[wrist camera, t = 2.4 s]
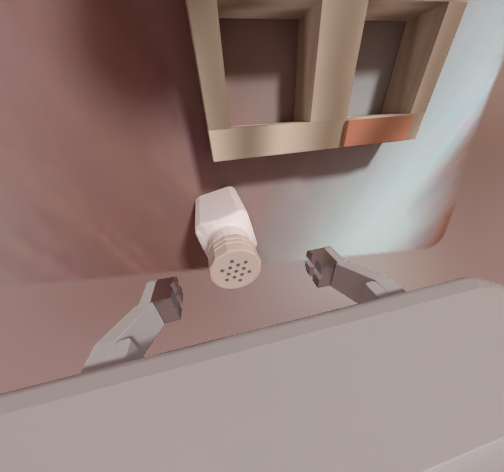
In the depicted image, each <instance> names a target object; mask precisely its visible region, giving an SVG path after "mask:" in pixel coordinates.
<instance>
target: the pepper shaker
mask: <svg viewBox="0 0 504 472" xmlns="http://www.w3.org/2000/svg"><path fill="white" fill-rule="evenodd" d="M195 234H196V236H197V238H198V240H199V242H200V244H201V246H202V248H203V250H204V252H205V253H206V255H207V257H208V263H209V273H210V278H211V281H213V282H214V283H215V284H216V285H217V286H218V287H221V288H226V289H236V288H241V287H244V286H246V285H248V284H249V283H251V282H253V281H254V280H255V279H256V277H257V275H258V274H259V273H260V270H261V260H260V258H259V256H258V254H257V251H256V249H255V248H256V246H257V242H256V238H255V235H254V231H253V228H252V225H251V222H250V219H249V216H248V213H247V211H246V209H245V208H244V206H243V204H242V202H241V200H240V198H239V196H238V194H237V192H236V190H235V189H234V188H233V187H225V188H222V189H219V190H216V191H213V192H211V193H208V194H205V195H202V196H199V197H198V198H197V199H196V205H195Z"/></svg>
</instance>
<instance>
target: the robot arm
mask: <svg viewBox="0 0 504 472" xmlns="http://www.w3.org/2000/svg"><path fill="white" fill-rule="evenodd" d="M306 256H307V257H308V259H307V260H306V264H305V266H306V270H307V272H308V274H309V275H310V276H312V277H313V281H314V283H315V284H316V286H317V287H318V288H320V287H325V286H330V285H331V287H333V288H335V289H336V290H338V291H339V292H341V293H342V294H344V295H346V296H347V297H349V298H350V299H352V300H353V301H355V302H357V303H358V304H355V305H351V306H348V307H344V308H340V309H335V310H332V311H328V312H324V313H320V314H316V315H312V316H308V317H304V318H300V319H296V320H292V321H288V322H284V323H280V324H276V325H272V326H268V327H264V328H260V329H256V330H252V331H248V332H244V333H240V334H236V335H232V336H229V337H224V338H220V339H216V340H212V341H208V342H204V343H200V344H196V345H192V346H188V347H184V348H180V349H176V350H172V351H168V352H164V353H160V354H156V355H152V356H148V357H144V356H143V355H144V354H145V352H146V351H147V349H148V348H149V346H150V345H151V344H152V342H153V341H154V339H155V338H156V336H157V335H158V333H159V332H160V330H161V329H162V328H163V326H164V325H165V323H167V322H171V321H175V320H179V319H181V310H182V309H181V306H180V305H181V304H182V301H183V293H182V289H181V287H180V286H179V285H178V279H177V277H170V278H164V279H158V280H154V281H148V283H146V286H145V289H144V292H143V295H142V298H141V300H140V303H139V305H137V306H135V307H134V308H133V309H132V310H131V311H130V312H129V313H128V314H127V315H126V316H125V317H123V318H122V319H121V320H120V321H119V322H118V323H117V324H116V325H115V326H114V327H113V328H112V329H111V330H110V331H109V332H108V333H107V334H106V335H104V336H103V337H102V338H101V339H100V340H99V341H98V342H97V343H96V344H95V345H94V347H93V349H92V351H91V353H90V355H89V357H88V359H87V361H86V363H85V365H84V367H83V369H82V371H81V373H80V374H77V375H73V376H69V377H65V378H61V379H57V380H53V381H49V382H45V383H41V384H37V385H33V386H29V387H25V388H21V389H17V390H13V391H9V392H5V393H1V394H0V472H504V286H503V285H500V284H497V283H493V282H490V281H486V280H483V279H479V278H475V277H464V278H459V279H455V280H451V281H447V282H443V283H439V284H435V285H431V286H427V287H423V288H419V289H415V290H411V291H408V292H406V291H405V290H404V289H403V288H401V287H400V286H399V285H398V284H397V283H395V282H394V281H393V280H392V279H391V278H390V277H388V276H385V275H383V274H380V273H378V272H375V271H372V270H370V269H367V268H365V267H362V266H360V265H357V264H354V263H352V262H349V261H345V260H344V259H343V258H342V257H341V256H340V255H339V254H338V253H337V252H336V251H335V250H334V249H333V248H332V247H330V246H328V247H323V248H319V249H314V250H309V251H307V254H306Z"/></svg>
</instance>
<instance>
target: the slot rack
mask: <svg viewBox="0 0 504 472" xmlns="http://www.w3.org/2000/svg"><path fill="white" fill-rule="evenodd" d="M185 3H186V8H187V14H188V20H189V26H190V32H191V38H192V44H193V50H194V56H195V61H196V67H197V73H198V79H199V85H200V91H201V97H202V103H203V108H204V114H205V120H206V126H207V132H208V138H209V144H210V150H211V155H212V158H213V161H214V162H218V161H227V160H235V159H244V158H253V157H262V156H270V155H279V154H288V153H297V152H305V151H314V150H323V149H332V148H340V147H349V146H358V145H367V144H375V143H384V142H393V141H402V140H410V139H415V137H416V134H417V132H418V129H419V127H420V124H421V121H422V119H423V116H424V114H425V111H426V109H427V106H428V103H429V101H430V98H431V96H432V93H433V90H434V88H435V85H436V83H437V80H438V78H439V75H440V72H441V70H442V67H443V65H444V62H445V59H446V57H447V54H448V52H449V49H450V47H451V44H452V41H453V39H454V36H455V34H456V31H457V28H458V26H459V23H460V21H461V18H462V16H463V13H464V10H465V8H466V5H467V3H468V0H185ZM219 18H235V19H299V29H298V47H297V65H296V83H295V100H294V118H293V121H289V122H277V123H265V124H253V125H241V126H230V119H229V109H228V100H227V91H226V82H225V72H224V63H223V54H222V45H221V35H220V26H219ZM365 21H406V25H405V28H404V32H403V36H402V39H401V43H400V47H399V50H398V54H397V57H396V61H395V65H394V68H393V72H392V75H391V79H390V83H389V86H388V90H387V94H386V97H385V101H384V104H383V108H382V112H381V114H373V115H361V116H349V117H347V111H348V106H349V101H350V96H351V90H352V85H353V80H354V75H355V69H356V64H357V59H358V54H359V49H360V43H361V38H362V33H363V28H364V22H365Z"/></svg>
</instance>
